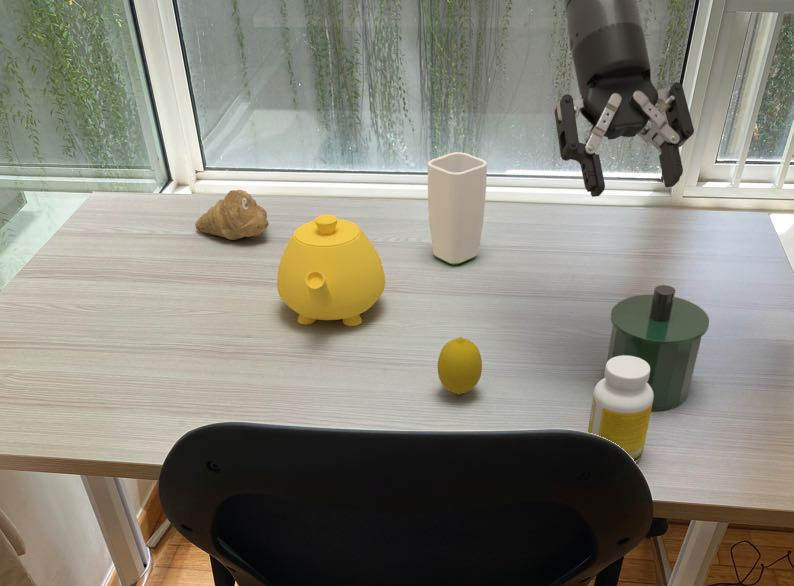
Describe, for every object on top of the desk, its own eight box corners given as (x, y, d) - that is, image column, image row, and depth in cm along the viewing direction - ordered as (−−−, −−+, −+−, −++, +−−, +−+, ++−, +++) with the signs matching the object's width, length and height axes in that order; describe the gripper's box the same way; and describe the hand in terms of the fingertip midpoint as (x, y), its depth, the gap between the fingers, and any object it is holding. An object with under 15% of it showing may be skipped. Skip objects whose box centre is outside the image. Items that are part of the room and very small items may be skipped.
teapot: (374, 354, 119) (370, 258, 110) (263, 350, 121) (249, 256, 112) (392, 285, 134) (389, 196, 124) (292, 283, 135) (282, 194, 126)
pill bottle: (649, 467, 99) (668, 380, 91) (593, 472, 99) (607, 385, 91) (631, 434, 104) (648, 348, 96) (578, 439, 104) (590, 353, 96)
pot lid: (712, 310, 107) (721, 275, 104) (700, 356, 100) (709, 320, 97) (619, 296, 111) (625, 262, 108) (600, 340, 103) (606, 304, 100)
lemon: (461, 377, 114) (463, 322, 109) (489, 395, 111) (492, 339, 106) (428, 391, 112) (428, 336, 107) (456, 411, 109) (457, 354, 103)
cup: (453, 271, 137) (455, 175, 126) (423, 256, 141) (422, 162, 131) (487, 257, 140) (491, 162, 130) (456, 243, 144) (458, 150, 134)
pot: (693, 374, 113) (709, 307, 107) (681, 418, 106) (697, 349, 100) (612, 360, 116) (623, 294, 110) (596, 402, 109) (606, 334, 103)
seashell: (210, 256, 153) (187, 252, 146) (197, 209, 152) (174, 203, 144) (280, 233, 149) (260, 228, 141) (267, 185, 148) (247, 177, 140)
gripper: (555, 26, 89) (586, 180, 88) (684, 13, 91) (715, 164, 91) (533, 69, 96) (561, 212, 96) (653, 56, 98) (681, 196, 98)
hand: (636, 188), depth 93 cm, fingers open, 8 cm apart
